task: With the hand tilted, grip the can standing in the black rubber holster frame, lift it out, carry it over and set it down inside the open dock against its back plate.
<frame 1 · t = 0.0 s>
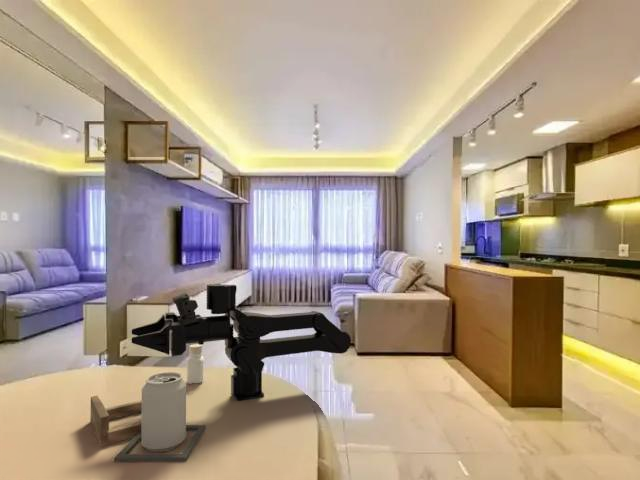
hand: (131, 335, 83), 17 cm above the table, tool horizontal, fingers open, 9 cm apart
dock: (130, 424, 78), on the table
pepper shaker: (195, 382, 103), on the table
can: (163, 444, 70), on the table
holster frame: (163, 443, 70), on the table
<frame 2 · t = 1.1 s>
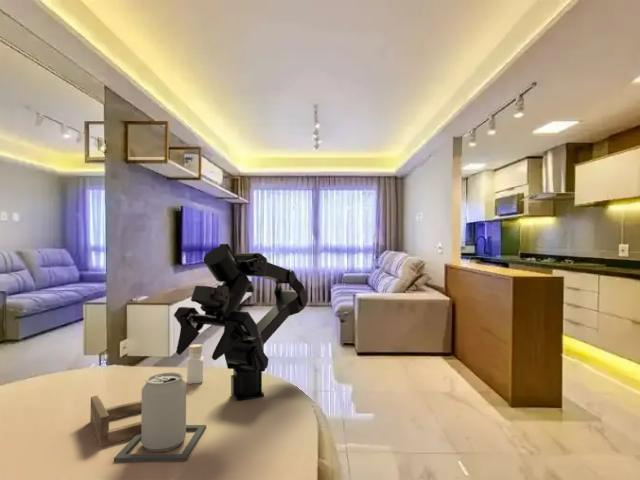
hand: (195, 356, 78), 14 cm above the table, tool tilted 45°, fingers open, 9 cm apart
nothing on the table moved.
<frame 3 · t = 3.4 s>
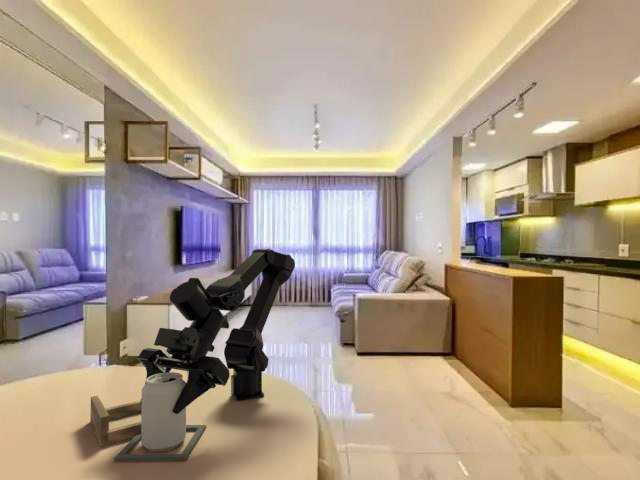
hand: (158, 409, 69), 7 cm above the table, tool tilted 45°, fingers closed on can, 7 cm apart
can: (163, 444, 70), on the table, touching gripper
everything else where it was.
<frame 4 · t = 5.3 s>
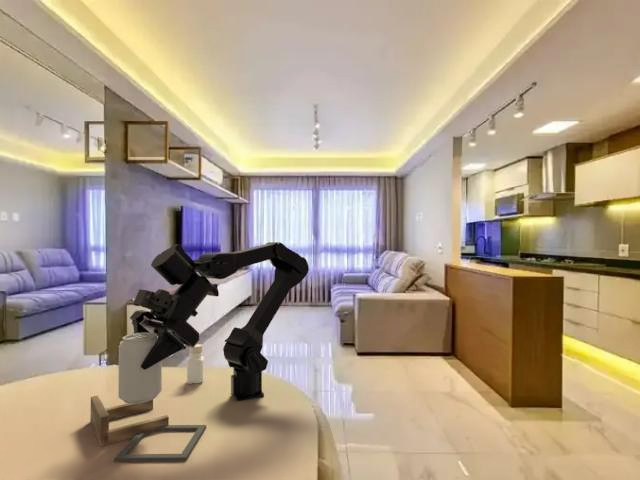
hand: (133, 364, 73), 13 cm above the table, tool tilted 45°, fingers closed on can, 7 cm apart
can: (140, 398, 74), point 6 cm above the table, touching gripper
everything else where it was.
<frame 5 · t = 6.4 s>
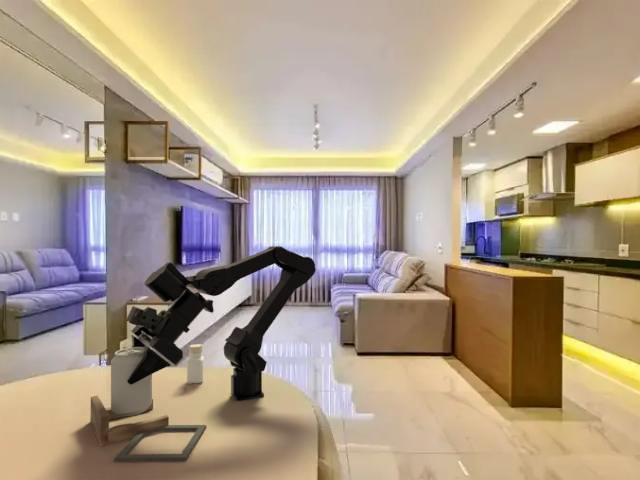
hand: (124, 377, 77), 9 cm above the table, tool tilted 45°, fingers closed on can, 7 cm apart
can: (132, 410, 78), point 3 cm above the table, touching gripper
everything else where it was.
when the fingers open (8 cm above the table, at t = 7.2 s): can drops 2 cm, on the table.
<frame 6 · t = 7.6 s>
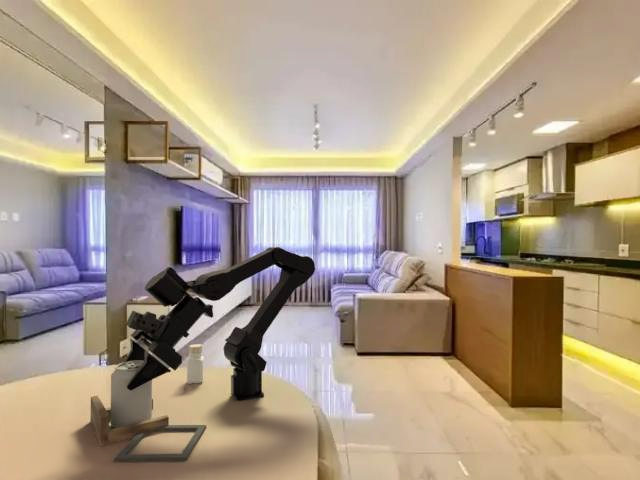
hand: (123, 382, 77), 9 cm above the table, tool tilted 45°, fingers open, 9 cm apart
can: (131, 424, 78), on the table
everything else where it was.
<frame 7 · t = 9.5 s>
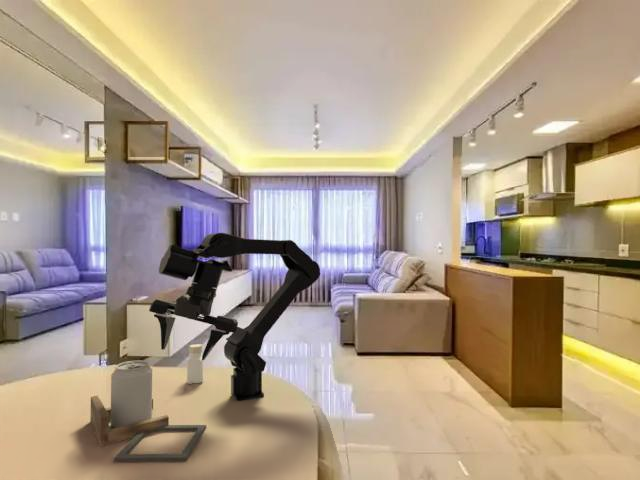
hand: (182, 354, 85), 12 cm above the table, tool tilted 20°, fingers open, 9 cm apart
nothing on the table moved.
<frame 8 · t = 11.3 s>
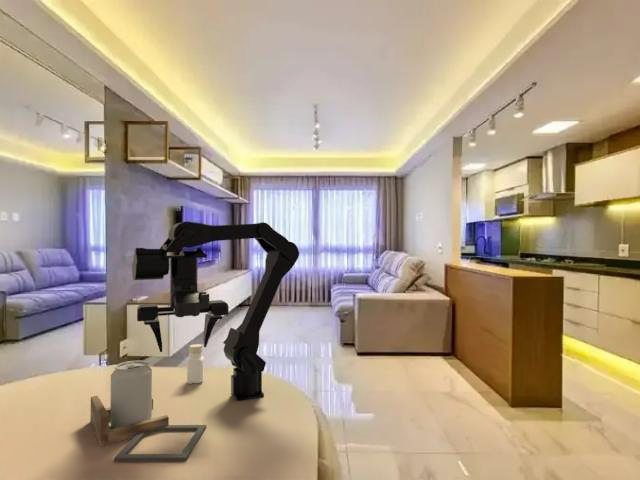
hand: (183, 349, 86), 13 cm above the table, tool pointing down, fingers open, 9 cm apart
nothing on the table moved.
at the end: can inside the target area on the dock (0.2 cm from its centre), point 0.0 cm above the dock's base; can tilted 0°; the gripper is holding nothing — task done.
